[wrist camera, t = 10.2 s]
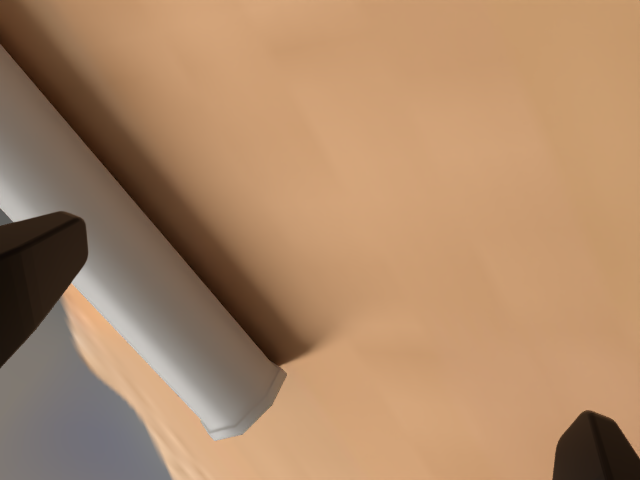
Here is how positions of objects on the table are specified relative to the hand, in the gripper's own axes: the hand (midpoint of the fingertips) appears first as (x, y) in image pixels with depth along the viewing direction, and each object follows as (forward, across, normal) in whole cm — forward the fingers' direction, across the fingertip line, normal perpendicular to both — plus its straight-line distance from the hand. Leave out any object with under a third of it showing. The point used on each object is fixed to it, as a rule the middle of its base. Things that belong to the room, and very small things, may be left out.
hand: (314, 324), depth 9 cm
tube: (+14, +13, +11) cm, 22 cm away
